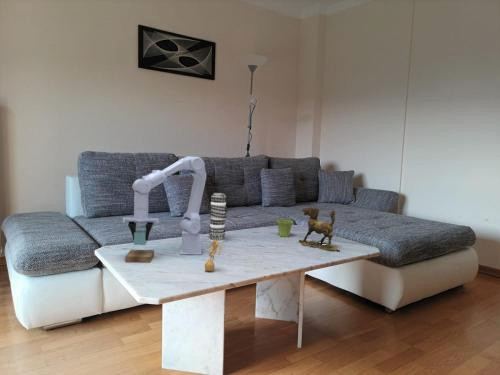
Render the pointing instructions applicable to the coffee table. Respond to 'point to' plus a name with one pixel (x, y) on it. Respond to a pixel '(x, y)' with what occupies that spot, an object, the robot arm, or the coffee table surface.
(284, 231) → the plant pot
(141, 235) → the teal block
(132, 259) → the walnut block
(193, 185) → the robot arm
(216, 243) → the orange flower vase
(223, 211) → the decorative candle
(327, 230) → the figurine
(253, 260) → the coffee table surface
